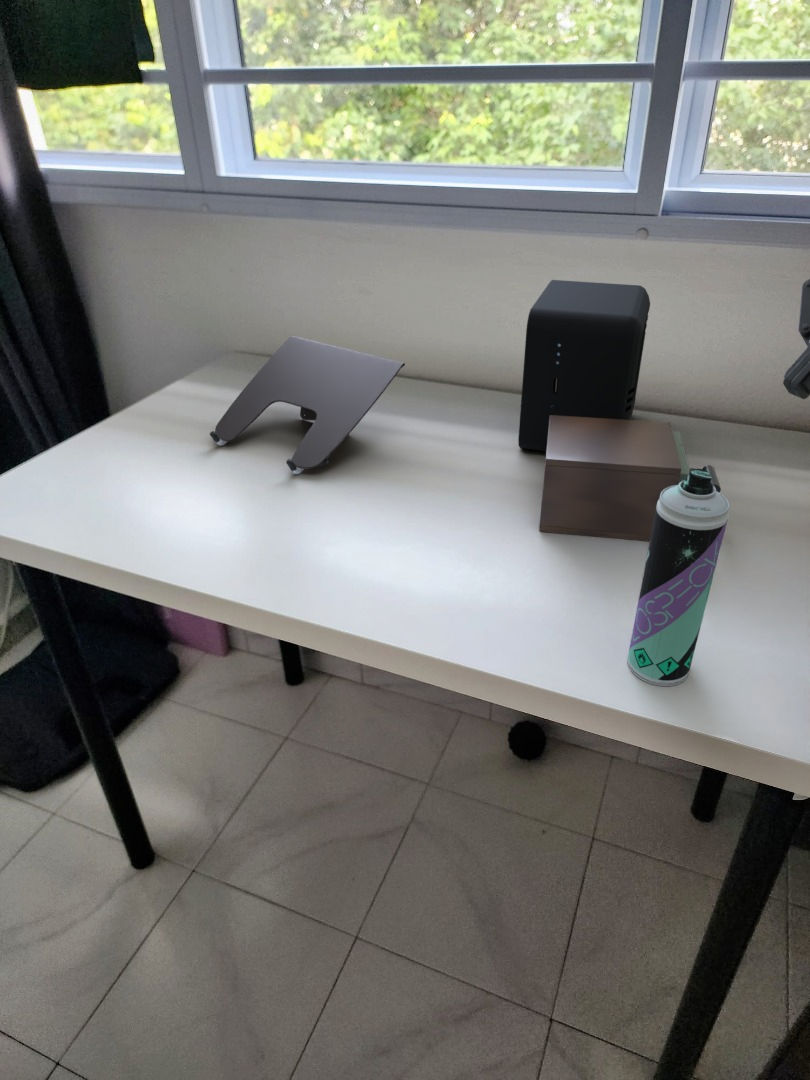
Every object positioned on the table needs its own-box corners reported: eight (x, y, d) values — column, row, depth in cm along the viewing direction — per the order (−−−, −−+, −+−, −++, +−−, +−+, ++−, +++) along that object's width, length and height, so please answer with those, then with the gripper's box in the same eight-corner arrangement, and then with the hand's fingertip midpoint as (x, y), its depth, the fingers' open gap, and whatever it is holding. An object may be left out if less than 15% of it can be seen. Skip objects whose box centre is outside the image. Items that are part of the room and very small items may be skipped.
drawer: (703, 490, 95) (716, 433, 91) (716, 537, 86) (731, 477, 81) (561, 479, 98) (567, 424, 94) (559, 524, 89) (565, 465, 84)
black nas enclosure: (621, 467, 102) (644, 322, 92) (516, 454, 107) (527, 312, 96) (633, 412, 119) (654, 282, 108) (542, 402, 123) (553, 276, 112)
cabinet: (657, 490, 97) (670, 422, 92) (666, 542, 87) (681, 468, 81) (543, 482, 99) (549, 414, 94) (538, 531, 89) (545, 458, 84)
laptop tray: (223, 468, 117) (193, 428, 110) (308, 367, 125) (285, 324, 118) (332, 511, 105) (307, 470, 98) (418, 397, 114) (401, 351, 106)
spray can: (614, 656, 70) (649, 465, 59) (660, 639, 72) (702, 452, 61) (654, 693, 66) (698, 495, 55) (702, 675, 68) (754, 480, 57)
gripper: (861, 181, 64) (718, 343, 66) (1021, 202, 53) (845, 393, 56) (885, 240, 68) (751, 390, 71) (1037, 271, 58) (873, 444, 61)
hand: (793, 391), depth 64 cm, fingers closed
